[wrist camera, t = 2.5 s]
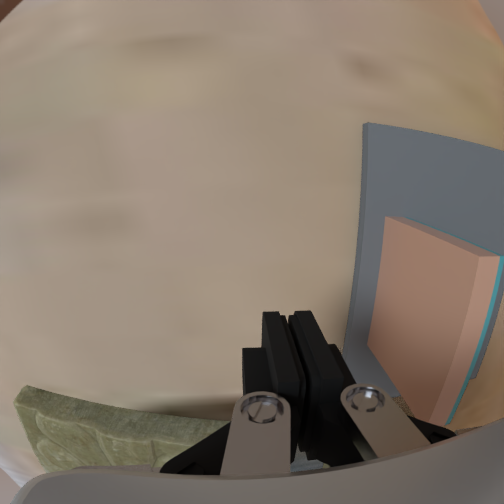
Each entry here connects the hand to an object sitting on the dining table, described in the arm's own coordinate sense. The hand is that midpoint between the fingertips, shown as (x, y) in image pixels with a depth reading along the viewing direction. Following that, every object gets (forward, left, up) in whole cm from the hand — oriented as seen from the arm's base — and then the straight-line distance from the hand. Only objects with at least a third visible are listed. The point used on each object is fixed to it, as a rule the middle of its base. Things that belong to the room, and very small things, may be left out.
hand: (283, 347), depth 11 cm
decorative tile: (-20, +11, -8) cm, 24 cm away
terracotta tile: (0, -7, -6) cm, 10 cm away
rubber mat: (0, -12, -7) cm, 14 cm away
